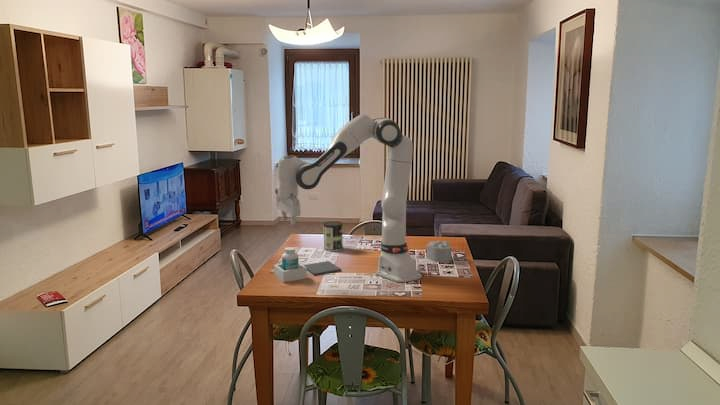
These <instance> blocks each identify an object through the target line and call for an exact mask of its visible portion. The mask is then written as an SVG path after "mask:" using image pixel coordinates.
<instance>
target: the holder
mask: <svg viewBox="0 0 720 405" xmlns="http://www.w3.org/2000/svg"><path fill="white" fill-rule="evenodd" d="M303 265H304V264H302V263H300V262H299V261H298V268H297V269H291V270H286V271H284V270H283V269H282V263H277V264H274V265H273V267H274V268H273V270H274V271H273V272H274V273H273V275H274V277H276V278H277V279H278V280H280V281H281V282H282V283H289V282H293V281H294V282H295V281H299V280H305V279H308V271H307V268H306V267H305V266H303Z"/></svg>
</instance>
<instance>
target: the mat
mask: <svg viewBox="0 0 720 405" xmlns="http://www.w3.org/2000/svg"><path fill="white" fill-rule="evenodd" d="M302 265H303V266H305V267H306V268H307V273H310V274H311V275H312V276H320V275H325V274H326V275H327V274H330V273H337V272H341V271H342V268H341V267H339V266H337V265H336V264H334V263H333V262H330V261H329V260H325V261H320V262H313V263H308V264H302Z"/></svg>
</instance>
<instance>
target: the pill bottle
mask: <svg viewBox="0 0 720 405" xmlns="http://www.w3.org/2000/svg"><path fill="white" fill-rule="evenodd" d="M298 262H299V254H298V253H297V252H296V247H293V246H289V247H287V246H286V247H285V248H284V252H283V253H282V255H281V264H282V269H283V270H284V271H286V270H291V269H297V268H298Z"/></svg>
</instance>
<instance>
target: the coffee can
mask: <svg viewBox="0 0 720 405" xmlns="http://www.w3.org/2000/svg"><path fill="white" fill-rule="evenodd" d="M322 225H323V250H324V251H327V252H338V251H342V250H343V222H341V221H337V220H336V221H334V220H333V221H332V220H331V221H330V220H329V221H325V222H322Z"/></svg>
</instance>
